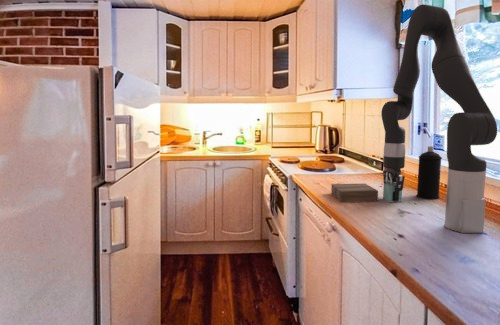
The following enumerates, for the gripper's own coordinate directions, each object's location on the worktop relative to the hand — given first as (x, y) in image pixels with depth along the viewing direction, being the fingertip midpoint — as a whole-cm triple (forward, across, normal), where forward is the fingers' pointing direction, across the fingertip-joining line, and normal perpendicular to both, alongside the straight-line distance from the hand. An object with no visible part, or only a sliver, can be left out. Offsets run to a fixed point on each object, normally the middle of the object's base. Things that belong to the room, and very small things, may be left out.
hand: (392, 199), depth 139 cm
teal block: (0, 0, 0) cm, 0 cm away
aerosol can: (+1, +4, -16) cm, 17 cm away
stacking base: (0, +6, +13) cm, 14 cm away
